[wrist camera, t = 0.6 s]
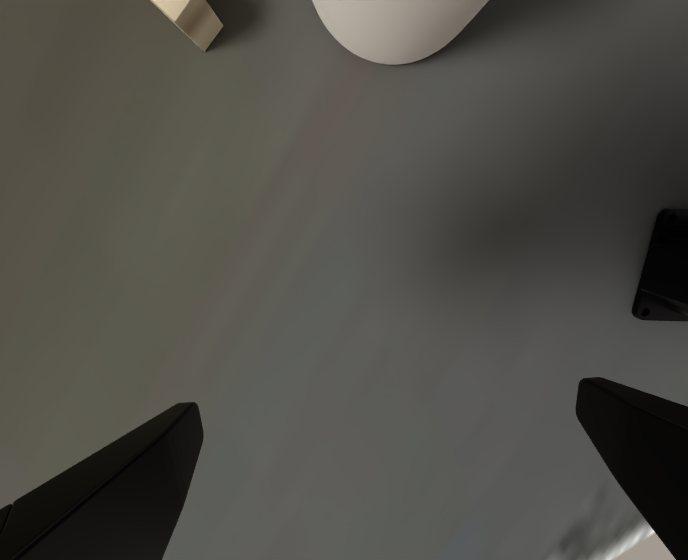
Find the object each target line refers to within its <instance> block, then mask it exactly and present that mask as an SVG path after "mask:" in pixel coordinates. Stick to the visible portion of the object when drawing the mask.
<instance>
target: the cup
mask: <svg viewBox="0 0 688 560" xmlns="http://www.w3.org/2000/svg"><path fill="white" fill-rule="evenodd" d="M312 1H313V4H314V6H315V8H316V10H317V12H318V15H319V16H320V18H321V20H322V22H323V23H324V25H325V26H326V28H327V29H328V31H329V32H330V33H331V34H332V35H333V37H334V38H335V39H336V40H337V41H338V42H339V43H340V44H341V45H343V46H344V47H345V48H346V49H348V50H349V51H351V52H352V53H354V54H355V55H357V56H359V57H361V58H363V59H366V60H369V61H371V62H375V63H380V64H386V65H399V64H407V63H412V62H415V61H418V60H421V59H423V58H426V57H428V56H430V55H431V54H433V53H435V52H437V51H438V50H440V49H441V48H443V47H444V46H446V45H447V44H448V43H449V42H450V41H451V40H453V39H454V38H455V37H456V36H457V35H458V34H459V33H460V32H461V31H462V30H463V29H464V28H465V27H466V25H467V24H468V23H469V22H470V21H471V20H472V19H473V18H474V17H475V15H476V14H477V13H478V12H479V11H480V10H481V9H482V8H483V7H484V5H485V4H486V3H487V2H488V1H489V0H312Z"/></svg>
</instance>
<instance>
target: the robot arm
mask: <svg viewBox="0 0 688 560" xmlns="http://www.w3.org/2000/svg"><path fill="white" fill-rule="evenodd" d="M669 215H670V219H669V220H668V217H669ZM643 309H644V311H643V313H641V312H642V310H643ZM632 314H633V316H635V317H636V318H638V319H641V320H657V321H688V209H664V210H662V211H661V212H660V213H659V214H658V216H657V220H656V223H655V227H654V231H653V234H652V238H651V242H650V246H649V249H648V253H647V257H646V260H645V264H644V268H643V271H642V275H641V279H640V283H639V286H638V290H637V294H636V297H635V301H634V305H633V308H632ZM576 415H577V418H578V420H579V422H580V423H581V425H582V427H583V428H584V430H585V431H586V433H587V435H588V436H589V438H590V439H591V441H592V443H593V444H594V446H595V447H596V449H597V451H598V452H599V454H600V455H601V457H602V459H603V460H604V462H605V463H606V465H607V467H608V468H609V470H610V471H611V473H612V474H613V476H614V477H615V479H616V480H617V482H618V483H619V485H620V486H621V487H622V489H623V490H624V492H625V493H626V494H627V496H628V497H629V498H630V500H631V501H632V502H633V503H634V505H635V506H636V507H637V509H638V510H639V511H640V513H641V514H642V515H643V517H644V518H645V519H646V521H647V522H648V523H649V525H650V526H651V527H652V529H653V530H654V531H655V533H656V534H657V535H658V537H659V538H660V539H661V541H662V542H663V543H664V544H665V546H666V547H667V548H668V550H669V551H670V552H671V554H672V555H673V556H674V558H675V559H676V560H688V407H687V406H684V405H681V404H678V403H675V402H672V401H669V400H666V399H663V398H660V397H658V396H655V395H652V394H649V393H646V392H643V391H640V390H637V389H634V388H631V387H628V386H625V385H622V384H619V383H616V382H613V381H610V380H607V379H604V378H601V377H593V378H583V379H582V380H580V382H579V386H578V393H577V401H576ZM202 443H203V427H202V422H201V417H200V412H199V407H198V405H197V404H196V403H195V402H186V403H178V404H176V405H174V406H172V407H171V408H169V409H167V410H166V411H164V412H162V413H161V414H159V415H157V416H156V417H154V418H152V419H151V420H149V421H147V422H146V423H144V424H142V425H141V426H139V427H137V428H136V429H134V430H132V431H131V432H129V433H127V434H126V435H124V436H122V437H121V438H119V439H117V440H116V441H114V442H112V443H111V444H109V445H107V446H106V447H104V448H102V449H101V450H99V451H97V452H96V453H94V454H92V455H91V456H89V457H87V458H86V459H84V460H82V461H81V462H79V463H77V464H76V465H74V466H72V467H71V468H69V469H67V470H66V471H64V472H62V473H61V474H59V475H57V476H56V477H54V478H52V479H51V480H49V481H47V482H46V483H44V484H42V485H41V486H39V487H37V488H36V489H34V490H32V491H31V492H29V493H27V494H26V495H24V496H22V497H21V498H19V499H17V500H15V501H14V503H13V505H12V504H9V505H7V506H5V507H4V508H2V509H0V560H162V558H163V555H164V553H165V550H166V548H167V545H168V543H169V541H170V538H171V536H172V533H173V531H174V528H175V526H176V524H177V521H178V519H179V516H180V514H181V511H182V508H183V506H184V503H185V500H186V497H187V493H188V490H189V487H190V483H191V480H192V477H193V473H194V470H195V466H196V463H197V460H198V456H199V453H200V450H201V446H202Z"/></svg>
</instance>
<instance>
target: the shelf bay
mask: <svg viewBox="0 0 688 560" xmlns="http://www.w3.org/2000/svg"><path fill="white" fill-rule="evenodd" d="M150 1H151V2H152V3H153V4H154V5H155V6H156V7H157V8H158V9H159V10H160V11H161V12H163V13H164V14H165V15H166V16H167V17H168V18H169V19H170V20H171V21H172V22H173V23H174V24H175V25H176V26H177V27H178V28H179V29H181V30H182V31H183V32H184V33H185V34H186V35H187V36H188V37H189V38H190V39H191V40H192V41H193V42H194V43H195V44H196V45H197V46H198V47H200V48H201V49H202V50H203V51H204V52H205V50H206V49H207V48H208V46H209V45H210V44H211V42H212V41H213V40H214V38H215V37H216V36H217V34H218V33H219V31H220V30H221V29H222V27H223V24H222V23H221V21H220V20H219V18H218V17H217V16H216V14H215V13H214V11H213V10H212V8H211V7H210V5H209V4H208V2H207V1H206V0H150Z"/></svg>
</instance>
